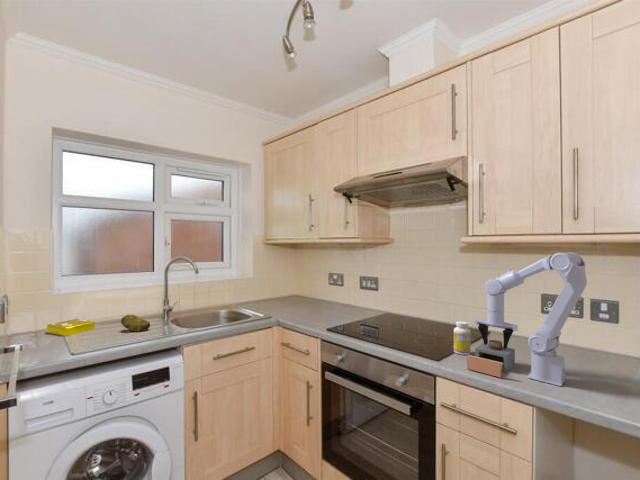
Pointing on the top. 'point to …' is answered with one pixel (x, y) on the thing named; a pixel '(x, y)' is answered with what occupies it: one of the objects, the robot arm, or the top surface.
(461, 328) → the supplement bottle
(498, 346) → the walnut puck
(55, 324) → the element tile
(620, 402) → the top surface
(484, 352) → the storage box
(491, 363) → the drawer
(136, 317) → the potato
